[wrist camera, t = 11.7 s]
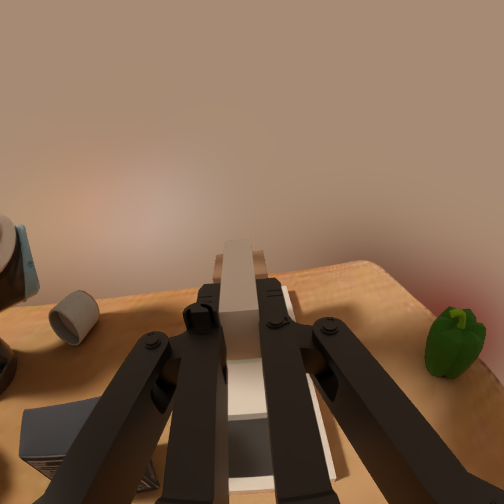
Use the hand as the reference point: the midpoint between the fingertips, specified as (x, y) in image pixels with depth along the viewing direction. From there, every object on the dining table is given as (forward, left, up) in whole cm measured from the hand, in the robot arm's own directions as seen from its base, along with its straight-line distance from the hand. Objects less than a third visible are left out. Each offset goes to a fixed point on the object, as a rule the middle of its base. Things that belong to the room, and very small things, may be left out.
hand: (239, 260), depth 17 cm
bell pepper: (+17, +19, -22) cm, 34 cm away
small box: (-9, -16, -22) cm, 28 cm away
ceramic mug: (-37, -6, -22) cm, 44 cm away
